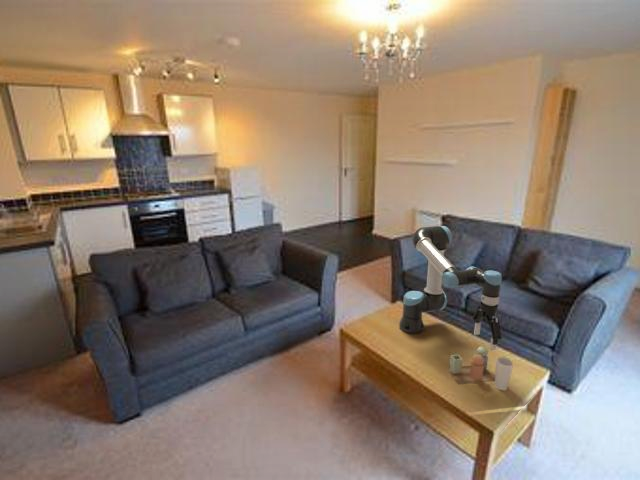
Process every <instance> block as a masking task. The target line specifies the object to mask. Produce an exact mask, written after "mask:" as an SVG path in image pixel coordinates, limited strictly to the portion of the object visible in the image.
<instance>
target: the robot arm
mask: <svg viewBox="0 0 640 480" xmlns="http://www.w3.org/2000/svg"><path fill="white" fill-rule="evenodd" d="M412 235H413V236H412V244H413V247H414V248H415V249H416V251H417V252H420V253H422V254H423V256H425V258H426V259H427V275H426V276H427V277H426V287H424V289H423V292H422V291H419V290H410V291H407V292H406V293H405V294H404V295H403V300H402V303H403V304H402V316H401V319H400V321H399V323H398V324H399V325H398V326H399V327H400V328H399V329H400V330H401V329H402V330H403V332H404V331H405V332H404V333H406V332H407V333H406V334H410V333H411V335H412V334H413V335H417V333H419V334H421V333H423V332H424V331H423V330H425V323H424V321H423V313H429V312H438V311H441V310H443V309H445V308H446V306H447V304H448V297H447V295H446V293H445V291H444V289H443V288H442V285H443V286H444V287H446V288H456V287H457V288H458V287H463V286H474V285H477V286H478V287H480V288H481V297H480V298H481V299H480V305H478V306H477V307H476V308H477V309H476V311H475V312H474V314H473V316H472V320H473V321H474V331H473V335H474V336H477V335H480V333H481V326H482V321H483V320H485V321H486V323H487V324H488V327H489V330H490V333H491V337H490V344H489V351H496V350H497V345H498V340H502V333H501V332H502V331H501V327H500V317H496V313H497V312H498V309H499V308H498V307H499V303H500V302H499V301H500V293H501V287H502V280H503V279H502V276H503V275H502V273H501V272H499V271H496V270H486V271H484V270H483V269H481V268H479V267H476V266H473V265H471V266H469V267H466V269H465V270H459V269H457V268H456V267H455V266H454V265H453V264H452V263H451V262H450V260H449V259H448V258H446V256H444V254H445V251H447V250H448V246H449V245H450V244H451V243H452V242H453V235H452V232H451V231H450V229H449V228H448V227H447V226H445V225H434V226H422V227H420V228H417V230H415V232H414V233H413V234H412ZM402 330H401V331H402Z"/></svg>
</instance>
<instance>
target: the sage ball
mask: <svg viewBox="0 0 640 480" xmlns="http://www.w3.org/2000/svg"><path fill="white" fill-rule="evenodd" d="M476 353H478V355H481V356H482V357H485V356H488V355H489V350H488V349H487V347H485V346H479V347H478V348H477V349H476Z"/></svg>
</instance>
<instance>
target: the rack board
mask: <svg viewBox="0 0 640 480" xmlns="http://www.w3.org/2000/svg"><path fill="white" fill-rule="evenodd" d="M445 369H446V370H447V372H448V373H449V374H450V376H451V377H452V378H453V380H454V381H455V382H456V384H457V385H464V384H465V385H467V384H477V383H487V382H495V375H493V374H492V373H491V372H490V370H488V369H487V368H486V371H483V375H482V380H475V381H474V380H473V379H472V377H471V376H470V369H471V364H470V365H462V368H461V373H457V374H453V373H452V371H451V370H450V366H449V367H445Z"/></svg>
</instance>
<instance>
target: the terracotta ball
mask: <svg viewBox="0 0 640 480" xmlns="http://www.w3.org/2000/svg"><path fill="white" fill-rule="evenodd" d="M471 361H473V363H474V364H476V365H482V364H483V363H484V359H483V357H482V356H481V355H476V354H474V355H473V356H472V360H471Z"/></svg>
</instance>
